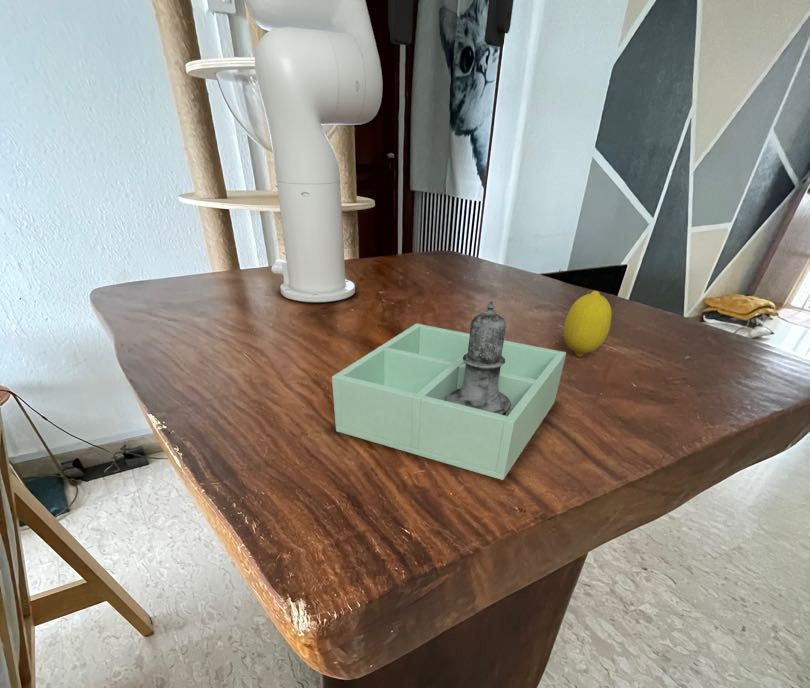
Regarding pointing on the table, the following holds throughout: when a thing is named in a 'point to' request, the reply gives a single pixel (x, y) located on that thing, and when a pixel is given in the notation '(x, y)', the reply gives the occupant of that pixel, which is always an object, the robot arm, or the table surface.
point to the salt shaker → (483, 365)
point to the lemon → (587, 323)
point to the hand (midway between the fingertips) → (445, 44)
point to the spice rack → (426, 399)
